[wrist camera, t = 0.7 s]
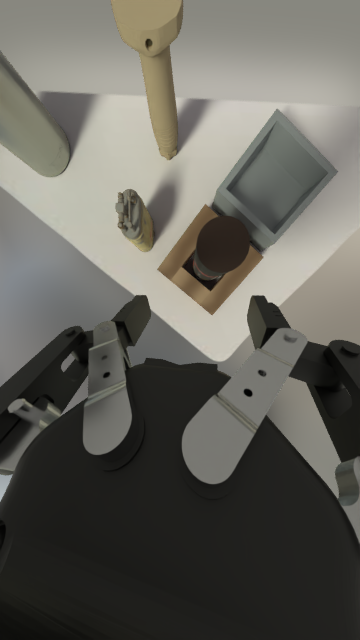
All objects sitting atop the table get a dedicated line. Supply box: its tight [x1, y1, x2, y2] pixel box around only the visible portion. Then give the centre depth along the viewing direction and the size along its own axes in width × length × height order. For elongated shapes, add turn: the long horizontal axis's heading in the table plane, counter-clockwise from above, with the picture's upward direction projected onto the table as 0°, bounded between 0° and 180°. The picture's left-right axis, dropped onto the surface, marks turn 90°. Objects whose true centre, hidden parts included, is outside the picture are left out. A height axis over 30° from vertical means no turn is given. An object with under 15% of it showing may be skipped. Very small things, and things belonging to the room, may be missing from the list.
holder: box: [157, 204, 263, 315], centre depth 30 cm, size 14×14×4 cm
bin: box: [212, 109, 338, 251], centre depth 26 cm, size 13×13×5 cm
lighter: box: [116, 189, 155, 252], centre depth 26 cm, size 7×4×10 cm, turn 177°
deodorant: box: [193, 216, 250, 281], centre depth 24 cm, size 6×6×15 cm
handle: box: [111, 0, 183, 160], centre depth 20 cm, size 5×6×15 cm
